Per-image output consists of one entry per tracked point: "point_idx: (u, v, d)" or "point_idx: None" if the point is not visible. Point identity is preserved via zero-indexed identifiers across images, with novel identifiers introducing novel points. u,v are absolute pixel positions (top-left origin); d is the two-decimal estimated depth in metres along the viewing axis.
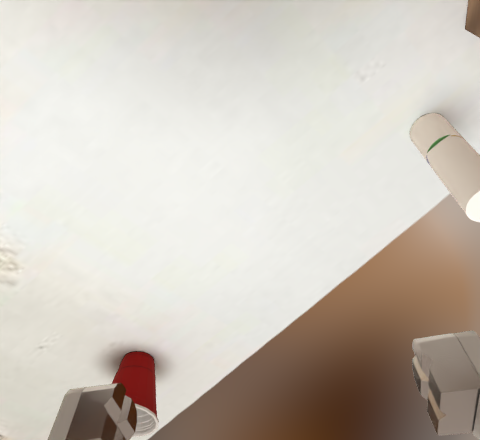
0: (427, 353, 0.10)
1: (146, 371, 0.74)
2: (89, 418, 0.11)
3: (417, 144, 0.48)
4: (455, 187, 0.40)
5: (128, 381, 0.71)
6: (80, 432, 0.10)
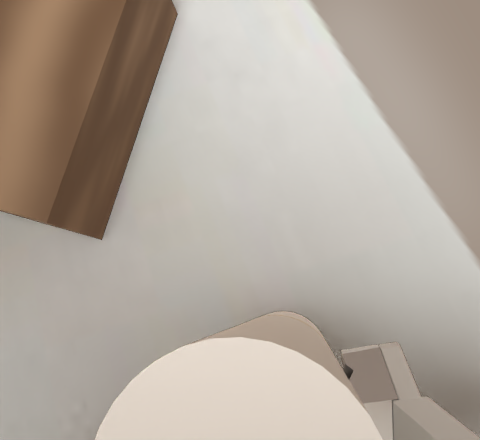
0: (349, 364, 0.10)
1: None
2: None
3: None
4: None
5: None
6: None
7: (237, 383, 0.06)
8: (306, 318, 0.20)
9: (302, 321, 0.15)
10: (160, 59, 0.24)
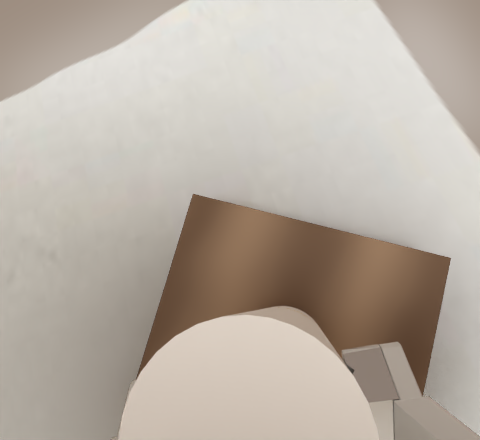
0: (350, 364, 0.10)
1: None
2: None
3: None
4: None
5: None
6: None
7: (243, 353, 0.07)
8: (304, 312, 0.21)
9: (300, 312, 0.16)
10: None
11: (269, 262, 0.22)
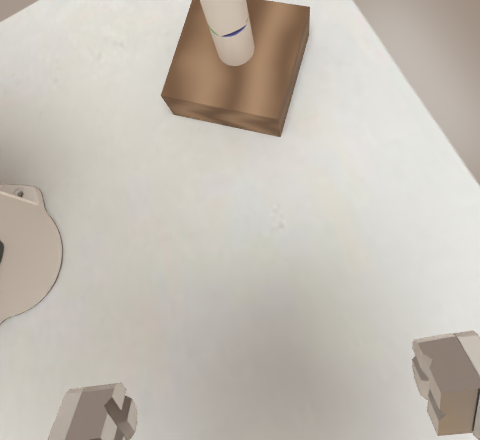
0: (427, 353, 0.10)
1: None
2: (89, 418, 0.11)
3: (228, 52, 0.45)
4: None
5: None
6: (80, 432, 0.10)
7: None
8: None
9: None
10: (302, 55, 0.52)
11: None
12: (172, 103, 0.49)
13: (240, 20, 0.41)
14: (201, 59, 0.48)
